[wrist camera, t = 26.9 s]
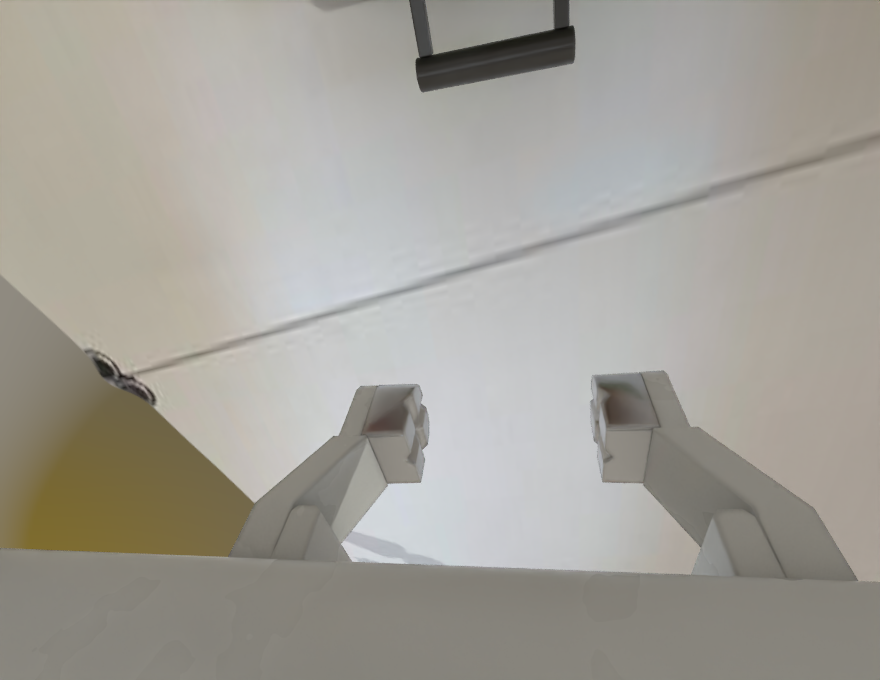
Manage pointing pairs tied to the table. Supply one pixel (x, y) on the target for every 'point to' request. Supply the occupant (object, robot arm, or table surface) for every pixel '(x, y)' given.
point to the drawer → (491, 52)
